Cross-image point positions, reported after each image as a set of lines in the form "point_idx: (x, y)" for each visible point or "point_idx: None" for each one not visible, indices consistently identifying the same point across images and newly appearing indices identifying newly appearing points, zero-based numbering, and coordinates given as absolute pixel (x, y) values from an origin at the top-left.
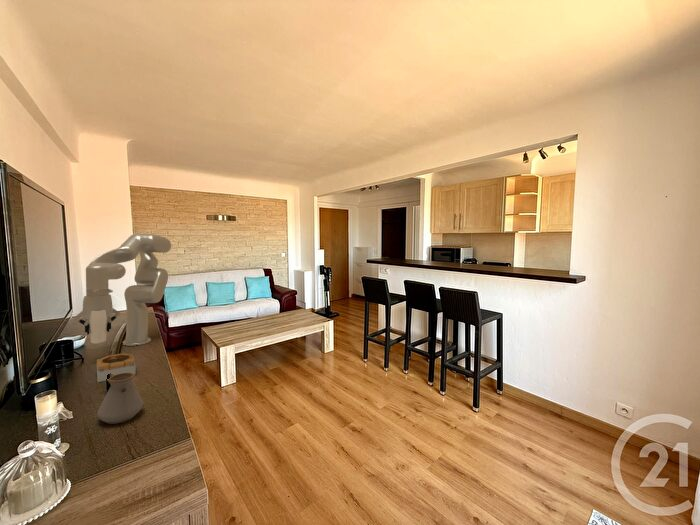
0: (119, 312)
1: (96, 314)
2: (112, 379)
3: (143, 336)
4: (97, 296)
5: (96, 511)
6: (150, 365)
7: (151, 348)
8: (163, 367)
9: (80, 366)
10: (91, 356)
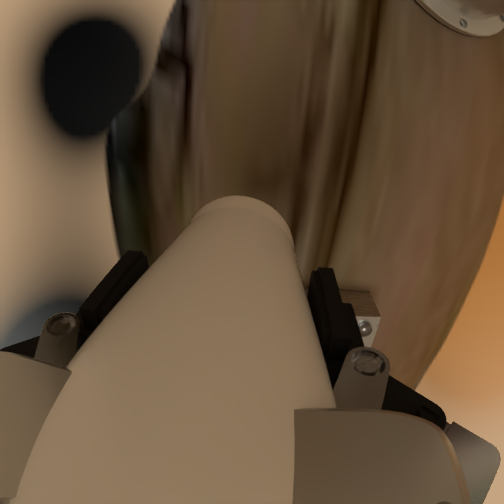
0: (493, 471)
1: None
2: None
3: (501, 14)
4: None
5: None
6: (399, 357)
7: (491, 134)
8: (411, 388)
9: (176, 203)
10: (227, 55)
